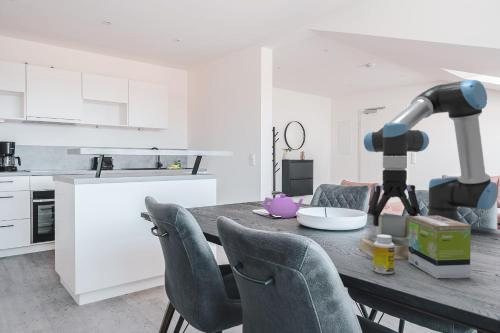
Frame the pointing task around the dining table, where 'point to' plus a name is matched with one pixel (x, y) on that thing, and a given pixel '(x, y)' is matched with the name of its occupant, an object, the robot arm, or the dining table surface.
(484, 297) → the dining table surface
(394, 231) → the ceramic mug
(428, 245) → the tea box
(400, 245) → the dock
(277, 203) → the teapot
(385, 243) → the supplement bottle
